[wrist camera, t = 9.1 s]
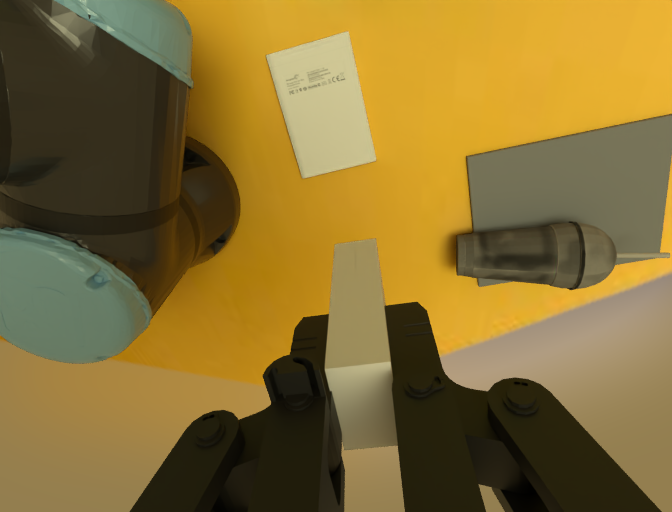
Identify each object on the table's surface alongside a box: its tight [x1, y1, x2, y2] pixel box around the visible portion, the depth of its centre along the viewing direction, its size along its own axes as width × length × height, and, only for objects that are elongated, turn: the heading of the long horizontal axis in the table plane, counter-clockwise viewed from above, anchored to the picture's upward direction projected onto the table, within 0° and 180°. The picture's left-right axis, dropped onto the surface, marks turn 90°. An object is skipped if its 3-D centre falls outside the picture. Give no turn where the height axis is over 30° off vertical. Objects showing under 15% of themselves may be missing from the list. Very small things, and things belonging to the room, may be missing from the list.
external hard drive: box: [266, 31, 376, 178], centre depth 43 cm, size 2×8×12 cm
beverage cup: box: [456, 221, 670, 290], centre depth 45 cm, size 7×7×20 cm
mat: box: [466, 114, 672, 287], centre depth 47 cm, size 20×16×1 cm
